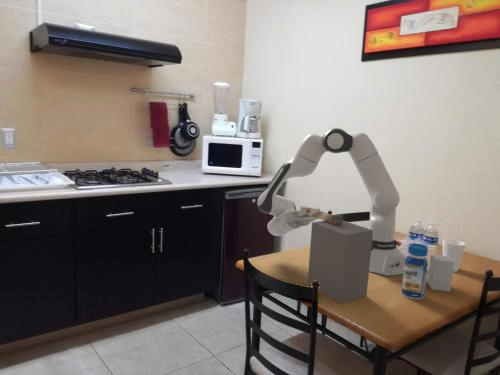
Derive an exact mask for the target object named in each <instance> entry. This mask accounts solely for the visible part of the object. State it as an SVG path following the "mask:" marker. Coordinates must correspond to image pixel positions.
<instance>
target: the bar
mask: <svg viewBox="0 0 500 375" xmlns="http://www.w3.org/2000/svg"><path fill="white" fill-rule="evenodd" d="M305 209H308V211H309V213H308V214H307V215H310V216H313V217H316V218H318V219H319V220H321V221H327V222H330V223H331V224H334V225H338V224H343V221H344V215H343V214H342V215H341V214H335V215H334V214H330V213H327V212H324V211H322V210H320V211H318V210H315V209H316V208H312V207H308V206H303V205H302V206H300V210H299V211H302V210H305Z"/></svg>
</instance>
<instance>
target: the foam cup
mask: <svg viewBox="0 0 500 375" xmlns="http://www.w3.org/2000/svg"><path fill="white" fill-rule="evenodd" d="M466 245H467V244H466V242H465V241H462V240H459V239H458V240H457V239H451V238H443V239H442V245H441V246H442V256H449V257H450V258H451V259H452V260H453V261H454V267H453V273H455V272H458V271H459V268H460V266H461V261H462V258H463V255H464V251H465V250H466Z"/></svg>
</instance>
